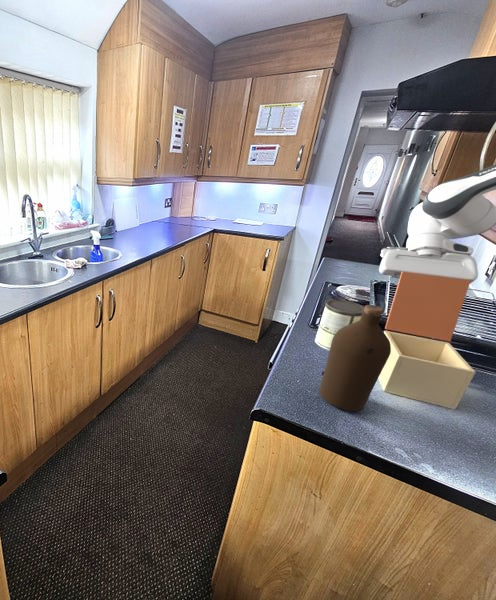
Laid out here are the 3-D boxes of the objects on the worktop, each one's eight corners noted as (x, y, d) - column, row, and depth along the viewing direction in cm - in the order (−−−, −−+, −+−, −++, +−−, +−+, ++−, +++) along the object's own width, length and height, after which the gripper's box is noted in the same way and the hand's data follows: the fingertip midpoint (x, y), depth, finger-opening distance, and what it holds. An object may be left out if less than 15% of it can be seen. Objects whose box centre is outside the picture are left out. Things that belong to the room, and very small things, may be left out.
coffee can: (317, 333, 113) (329, 296, 107) (354, 344, 106) (368, 305, 101) (311, 345, 106) (322, 306, 100) (349, 357, 100) (364, 316, 94)
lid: (470, 280, 84) (469, 280, 85) (402, 271, 90) (401, 271, 91) (450, 341, 86) (448, 340, 87) (385, 329, 92) (384, 328, 93)
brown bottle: (379, 410, 77) (420, 316, 67) (340, 416, 76) (376, 320, 66) (341, 382, 87) (372, 296, 77) (306, 387, 85) (333, 299, 75)
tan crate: (455, 409, 78) (475, 372, 74) (383, 391, 84) (399, 355, 80) (432, 376, 91) (449, 342, 87) (371, 362, 97) (384, 330, 93)
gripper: (385, 239, 97) (381, 279, 93) (481, 248, 88) (481, 293, 84) (377, 251, 103) (373, 289, 98) (467, 261, 94) (466, 303, 89)
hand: (424, 291), depth 91 cm, fingers closed
